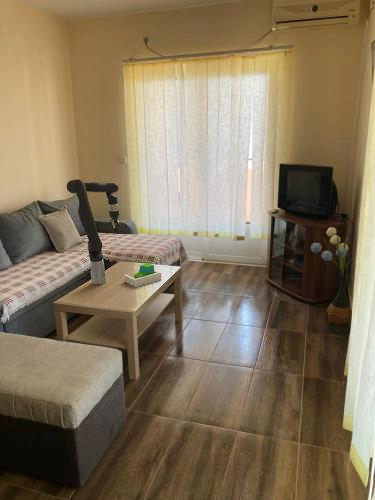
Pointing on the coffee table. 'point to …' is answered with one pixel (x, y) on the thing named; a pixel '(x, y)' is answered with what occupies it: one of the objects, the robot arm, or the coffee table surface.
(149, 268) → the toy car
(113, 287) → the coffee table surface
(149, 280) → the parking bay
